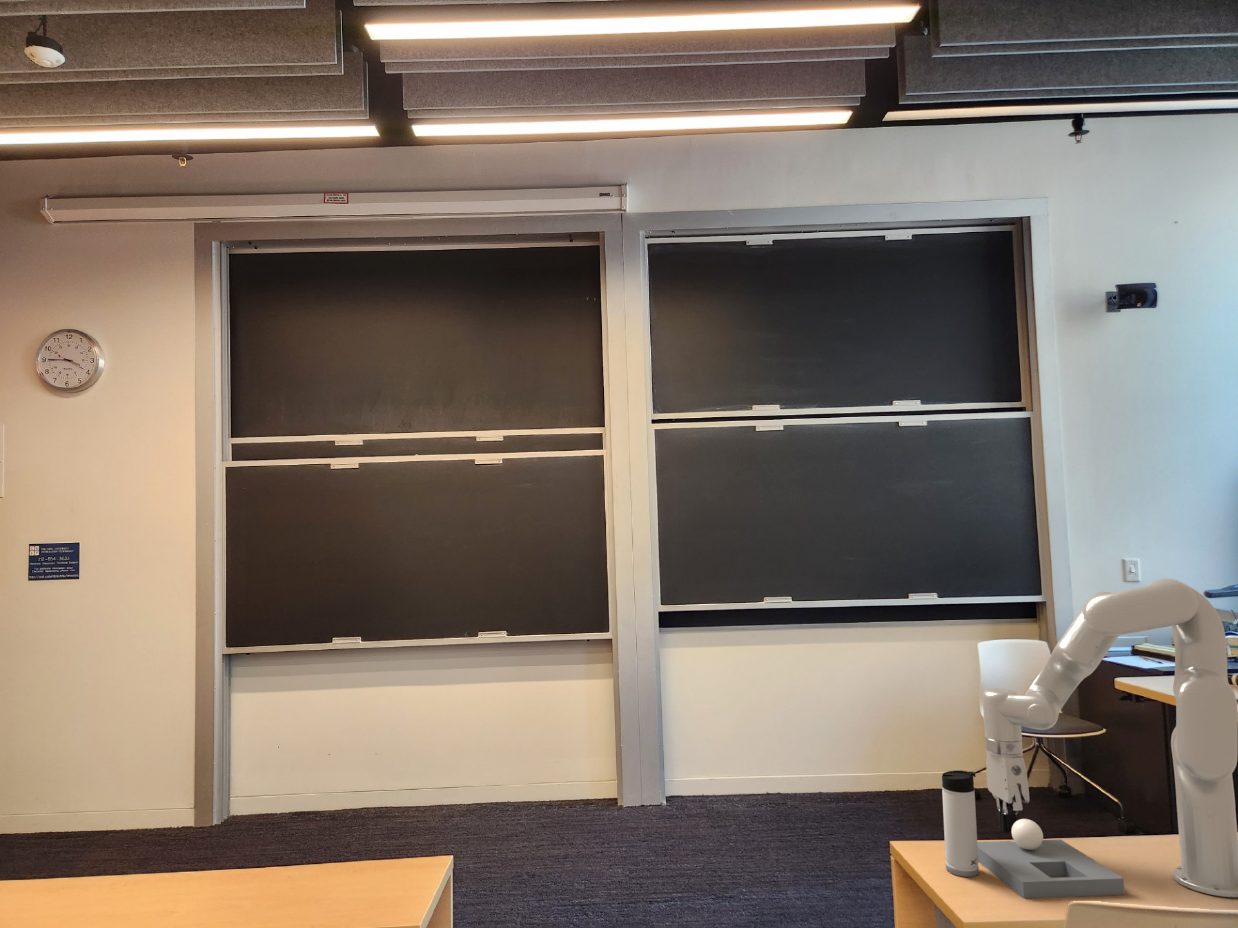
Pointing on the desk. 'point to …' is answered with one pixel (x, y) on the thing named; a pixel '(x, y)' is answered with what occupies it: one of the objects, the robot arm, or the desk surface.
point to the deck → (1048, 870)
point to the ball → (1027, 834)
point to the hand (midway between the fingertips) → (1008, 830)
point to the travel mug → (960, 823)
